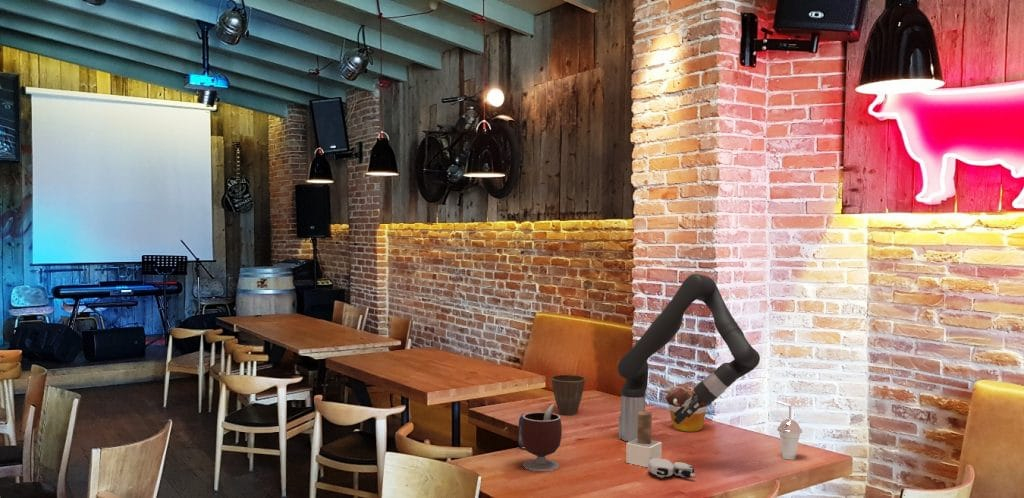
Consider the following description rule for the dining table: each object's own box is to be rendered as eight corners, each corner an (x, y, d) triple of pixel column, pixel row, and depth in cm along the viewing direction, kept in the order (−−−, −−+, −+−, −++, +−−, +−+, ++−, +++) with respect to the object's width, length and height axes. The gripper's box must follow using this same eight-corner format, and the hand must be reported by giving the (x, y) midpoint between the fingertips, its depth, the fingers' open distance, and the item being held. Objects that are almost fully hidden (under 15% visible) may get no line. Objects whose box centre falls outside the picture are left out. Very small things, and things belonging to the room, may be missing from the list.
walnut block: (637, 443, 256) (637, 414, 256) (638, 439, 260) (638, 411, 260) (650, 444, 255) (651, 415, 254) (651, 440, 259) (651, 412, 259)
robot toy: (690, 473, 249) (646, 468, 251) (692, 460, 249) (647, 455, 251) (696, 485, 237) (649, 479, 239) (697, 471, 237) (650, 466, 239)
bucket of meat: (664, 432, 299) (665, 383, 299) (663, 422, 315) (664, 376, 315) (715, 435, 295) (716, 385, 295) (711, 425, 312) (712, 378, 311)
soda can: (539, 445, 277) (539, 414, 277) (533, 450, 270) (534, 418, 270) (521, 444, 279) (522, 412, 279) (516, 448, 273) (516, 416, 273)
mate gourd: (548, 475, 242) (549, 414, 242) (512, 468, 250) (513, 409, 249) (570, 463, 255) (571, 406, 255) (535, 456, 263) (536, 400, 263)
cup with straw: (790, 462, 260) (791, 406, 260) (770, 455, 268) (771, 400, 268) (807, 459, 264) (807, 403, 264) (787, 452, 272) (787, 398, 272)
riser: (626, 463, 257) (626, 442, 256) (638, 457, 264) (638, 437, 264) (649, 468, 251) (649, 447, 251) (661, 462, 258) (661, 441, 258)
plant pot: (585, 417, 322) (586, 381, 322) (551, 417, 322) (552, 380, 322) (583, 410, 337) (583, 375, 337) (550, 409, 337) (550, 374, 337)
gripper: (702, 376, 260) (668, 406, 263) (703, 384, 247) (667, 415, 249) (717, 392, 259) (683, 422, 262) (719, 401, 245) (683, 432, 248)
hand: (675, 419), depth 256 cm, fingers open, 8 cm apart
